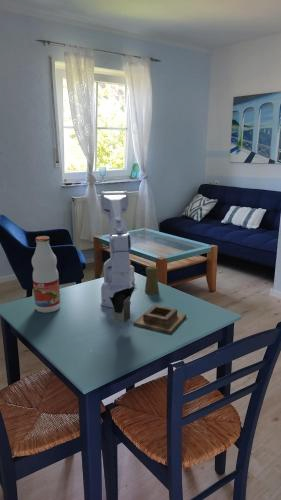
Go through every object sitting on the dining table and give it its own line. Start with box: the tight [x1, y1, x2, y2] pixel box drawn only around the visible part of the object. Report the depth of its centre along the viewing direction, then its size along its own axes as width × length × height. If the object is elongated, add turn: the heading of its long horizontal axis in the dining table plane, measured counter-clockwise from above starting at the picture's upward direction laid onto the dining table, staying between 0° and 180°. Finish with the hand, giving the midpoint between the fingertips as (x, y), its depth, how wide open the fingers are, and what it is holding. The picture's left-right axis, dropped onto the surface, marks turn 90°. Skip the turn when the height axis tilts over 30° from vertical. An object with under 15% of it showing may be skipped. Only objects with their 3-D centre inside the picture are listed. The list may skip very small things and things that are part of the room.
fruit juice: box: [31, 235, 61, 314], centre depth 142 cm, size 9×9×28 cm
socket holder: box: [133, 304, 187, 335], centre depth 134 cm, size 14×14×4 cm
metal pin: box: [112, 295, 131, 324], centre depth 125 cm, size 4×4×8 cm
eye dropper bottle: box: [130, 264, 135, 285], centre depth 169 cm, size 4×6×12 cm
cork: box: [144, 265, 160, 295], centre depth 160 cm, size 6×6×11 cm
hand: (121, 309), depth 125 cm, fingers closed on metal pin, 4 cm apart
